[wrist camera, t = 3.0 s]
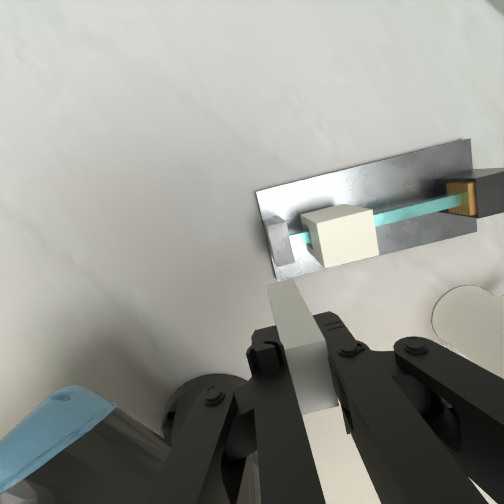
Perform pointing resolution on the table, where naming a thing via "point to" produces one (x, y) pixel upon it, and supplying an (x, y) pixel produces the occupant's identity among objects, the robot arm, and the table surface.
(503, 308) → the mug
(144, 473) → the robot arm
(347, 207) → the sleeve
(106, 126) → the table surface
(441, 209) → the glowing rod on plate
